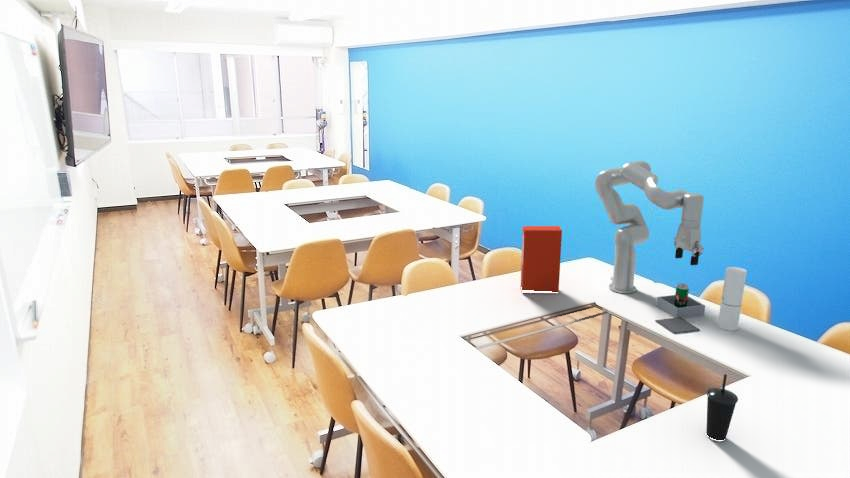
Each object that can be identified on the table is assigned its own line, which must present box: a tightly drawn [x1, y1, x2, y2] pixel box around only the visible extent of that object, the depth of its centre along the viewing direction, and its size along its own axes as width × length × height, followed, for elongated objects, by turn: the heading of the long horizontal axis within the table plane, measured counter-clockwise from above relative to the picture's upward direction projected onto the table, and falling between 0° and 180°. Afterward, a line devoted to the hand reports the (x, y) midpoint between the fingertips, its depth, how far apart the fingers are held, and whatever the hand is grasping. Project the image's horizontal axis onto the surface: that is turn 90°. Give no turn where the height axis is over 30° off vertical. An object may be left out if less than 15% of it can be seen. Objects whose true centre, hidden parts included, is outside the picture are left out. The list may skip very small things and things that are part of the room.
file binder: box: [520, 225, 563, 293], centre depth 254 cm, size 8×17×32 cm, turn 86°
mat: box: [654, 317, 701, 335], centre depth 219 cm, size 12×12×1 cm
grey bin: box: [656, 294, 706, 319], centre depth 233 cm, size 14×14×4 cm
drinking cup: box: [705, 374, 739, 440], centre depth 148 cm, size 8×8×20 cm
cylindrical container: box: [717, 266, 748, 332], centre depth 214 cm, size 7×7×25 cm
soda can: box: [674, 283, 690, 308], centre depth 232 cm, size 5×5×12 cm
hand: (686, 261), depth 227 cm, fingers open, 9 cm apart
